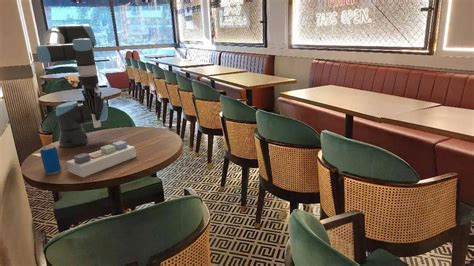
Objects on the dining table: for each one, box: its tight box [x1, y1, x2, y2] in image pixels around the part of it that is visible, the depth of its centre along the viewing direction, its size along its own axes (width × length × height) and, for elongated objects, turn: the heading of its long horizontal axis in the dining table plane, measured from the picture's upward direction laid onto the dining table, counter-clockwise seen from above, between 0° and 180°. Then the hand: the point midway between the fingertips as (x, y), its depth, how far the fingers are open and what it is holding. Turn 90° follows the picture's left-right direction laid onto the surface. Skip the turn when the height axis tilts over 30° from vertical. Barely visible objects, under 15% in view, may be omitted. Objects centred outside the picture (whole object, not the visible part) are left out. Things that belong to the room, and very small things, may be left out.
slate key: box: [111, 140, 128, 150], centre depth 163 cm, size 5×5×3 cm
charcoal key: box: [73, 152, 91, 164], centre depth 148 cm, size 5×5×3 cm
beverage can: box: [39, 144, 62, 175], centre depth 148 cm, size 6×6×12 cm
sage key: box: [99, 144, 116, 155], centre depth 158 cm, size 5×5×3 cm
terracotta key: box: [90, 152, 104, 159], centre depth 153 cm, size 5×5×3 cm
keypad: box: [66, 144, 137, 178], centre depth 156 cm, size 12×28×5 cm, turn 143°
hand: (97, 126), depth 152 cm, fingers closed
